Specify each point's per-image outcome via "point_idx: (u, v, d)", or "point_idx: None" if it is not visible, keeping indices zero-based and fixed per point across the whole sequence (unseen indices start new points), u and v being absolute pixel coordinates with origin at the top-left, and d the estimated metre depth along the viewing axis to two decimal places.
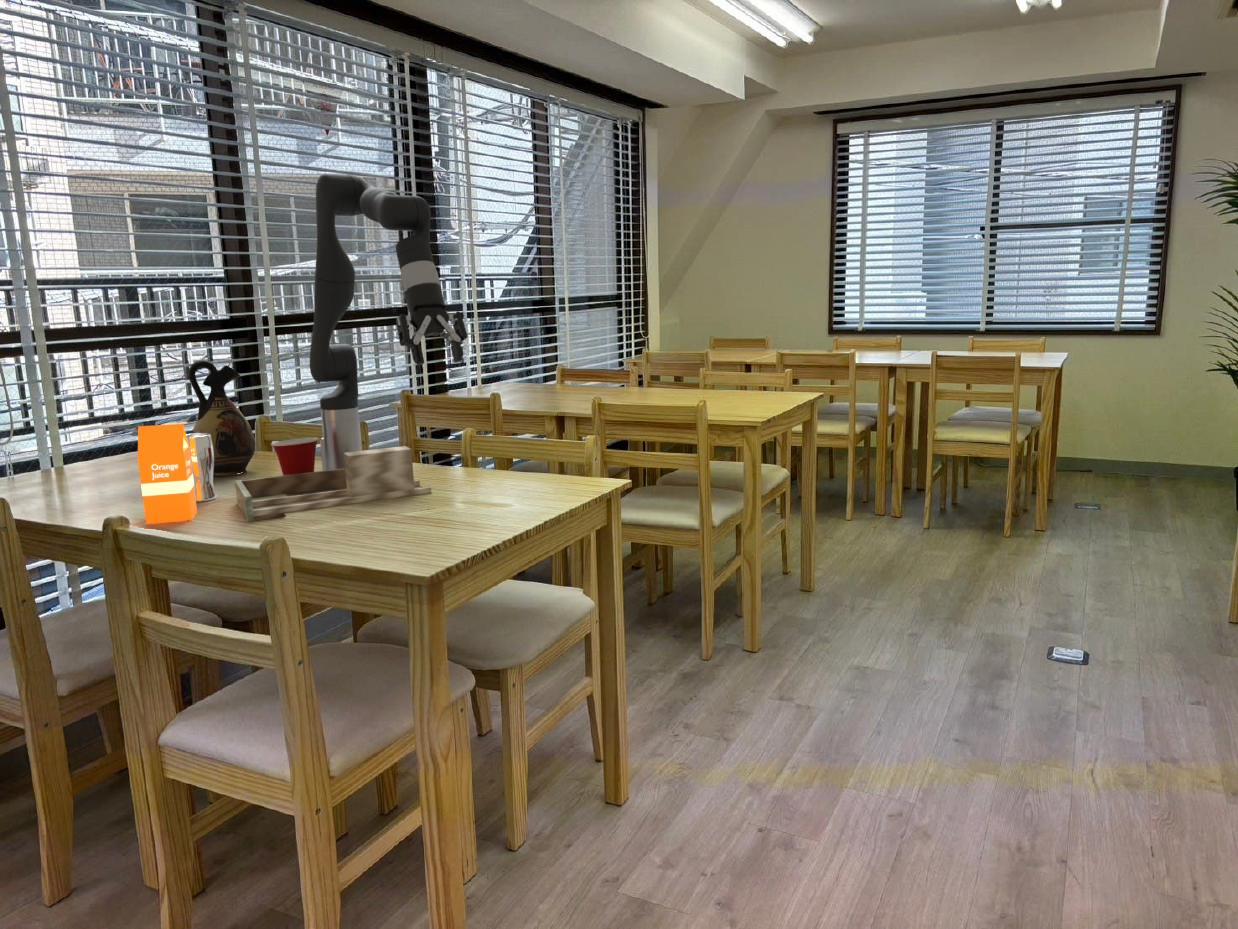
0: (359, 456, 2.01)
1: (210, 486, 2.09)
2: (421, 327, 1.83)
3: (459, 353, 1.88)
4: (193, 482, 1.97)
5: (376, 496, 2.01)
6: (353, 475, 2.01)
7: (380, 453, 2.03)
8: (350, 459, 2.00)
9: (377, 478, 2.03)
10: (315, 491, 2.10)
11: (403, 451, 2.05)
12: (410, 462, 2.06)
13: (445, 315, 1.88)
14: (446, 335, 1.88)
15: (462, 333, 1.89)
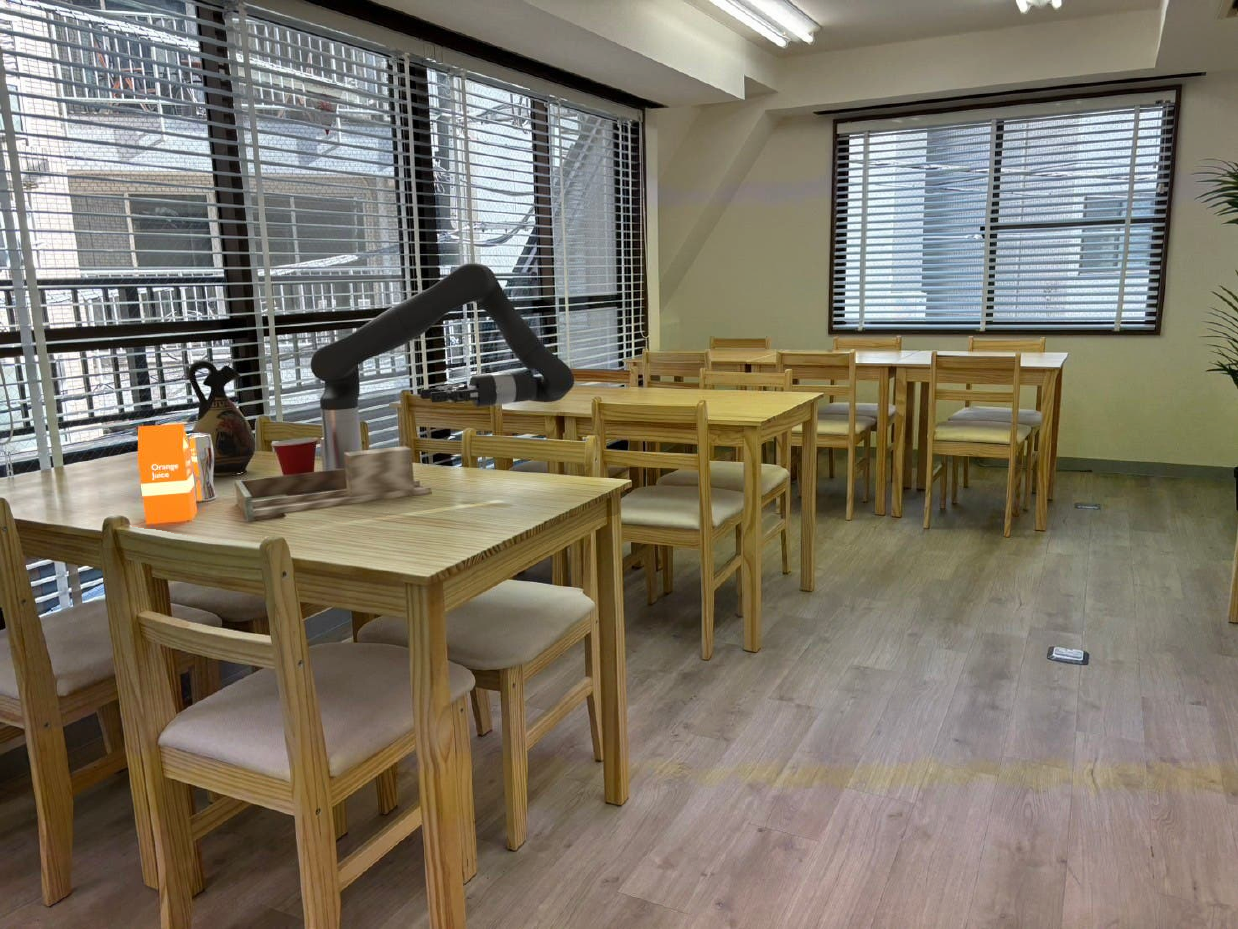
0: (359, 456, 2.01)
1: (210, 486, 2.09)
2: None
3: (426, 398, 2.12)
4: (193, 482, 1.97)
5: (376, 496, 2.01)
6: (353, 475, 2.01)
7: (380, 453, 2.03)
8: (350, 459, 2.00)
9: (377, 478, 2.03)
10: (315, 491, 2.10)
11: (403, 451, 2.05)
12: (410, 462, 2.06)
13: None
14: None
15: None
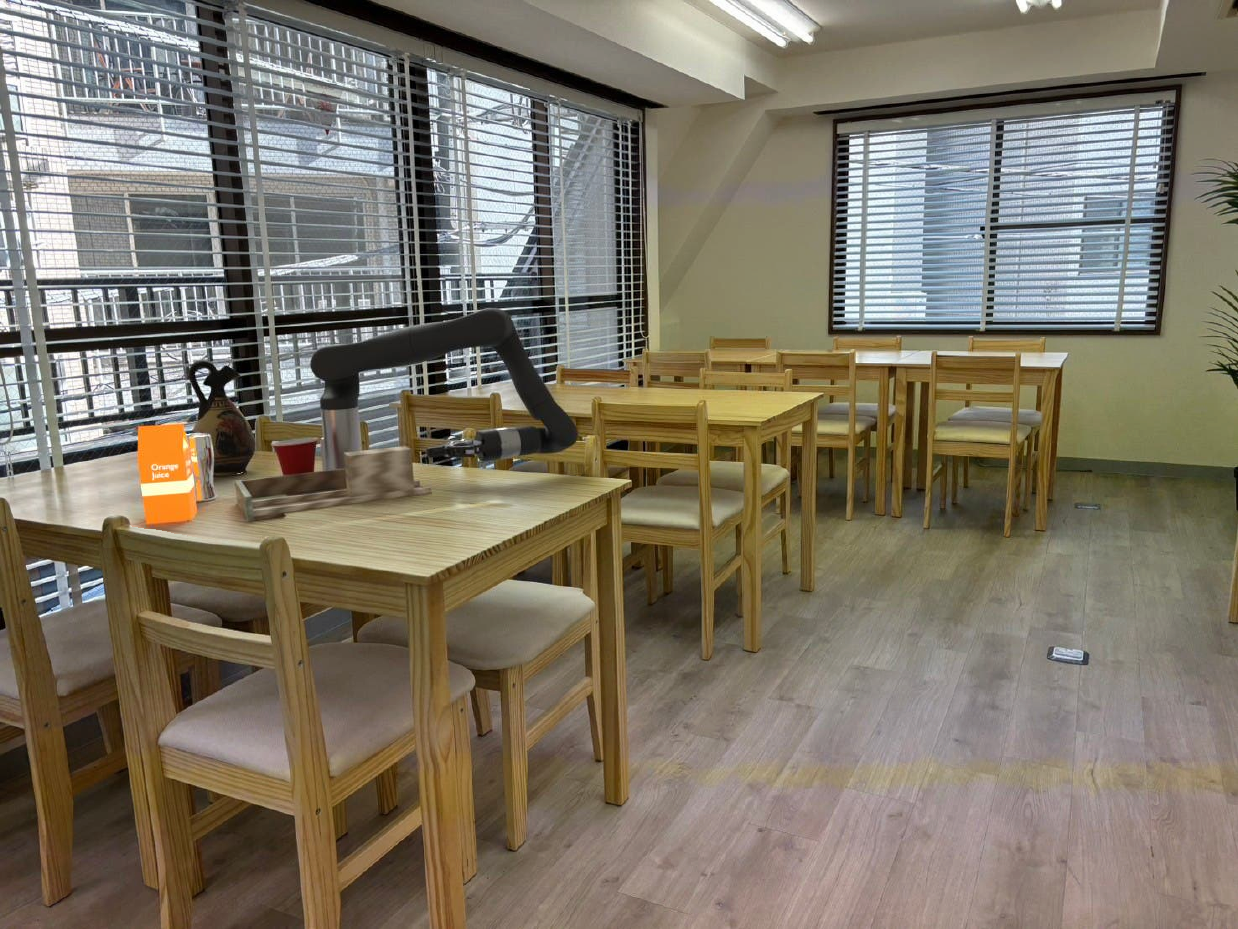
0: (359, 456, 2.01)
1: (210, 486, 2.09)
2: None
3: None
4: (193, 482, 1.96)
5: (376, 496, 2.01)
6: (353, 475, 2.01)
7: (380, 453, 2.03)
8: (350, 459, 2.00)
9: (377, 478, 2.03)
10: (315, 491, 2.10)
11: (403, 451, 2.05)
12: (410, 462, 2.06)
13: None
14: None
15: None
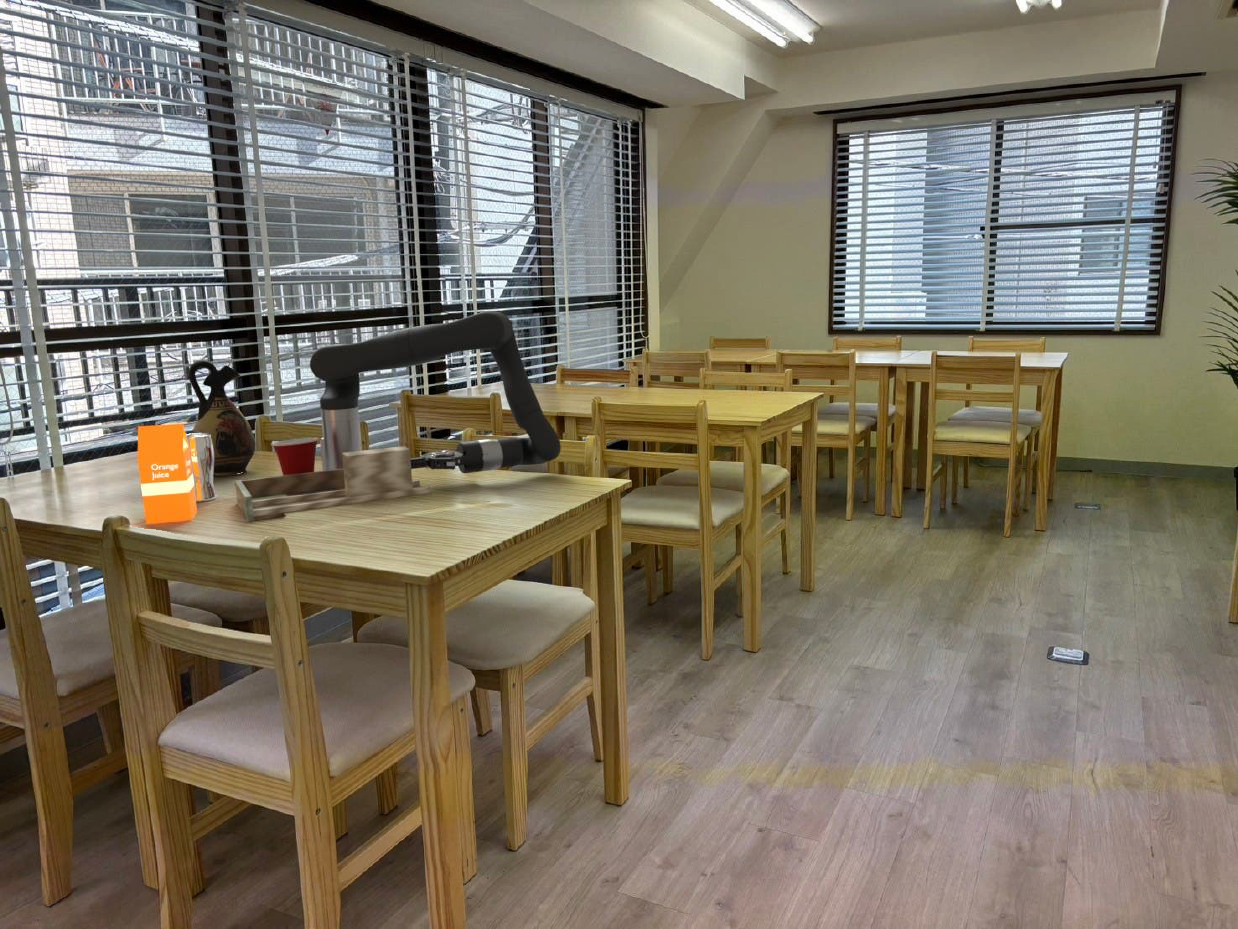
0: (358, 456, 2.00)
1: (210, 486, 2.09)
2: None
3: None
4: (193, 482, 1.97)
5: (376, 496, 2.01)
6: (351, 475, 2.00)
7: (378, 453, 2.03)
8: (348, 459, 2.00)
9: (375, 478, 2.03)
10: (315, 491, 2.10)
11: (401, 451, 2.05)
12: (408, 462, 2.06)
13: None
14: None
15: None
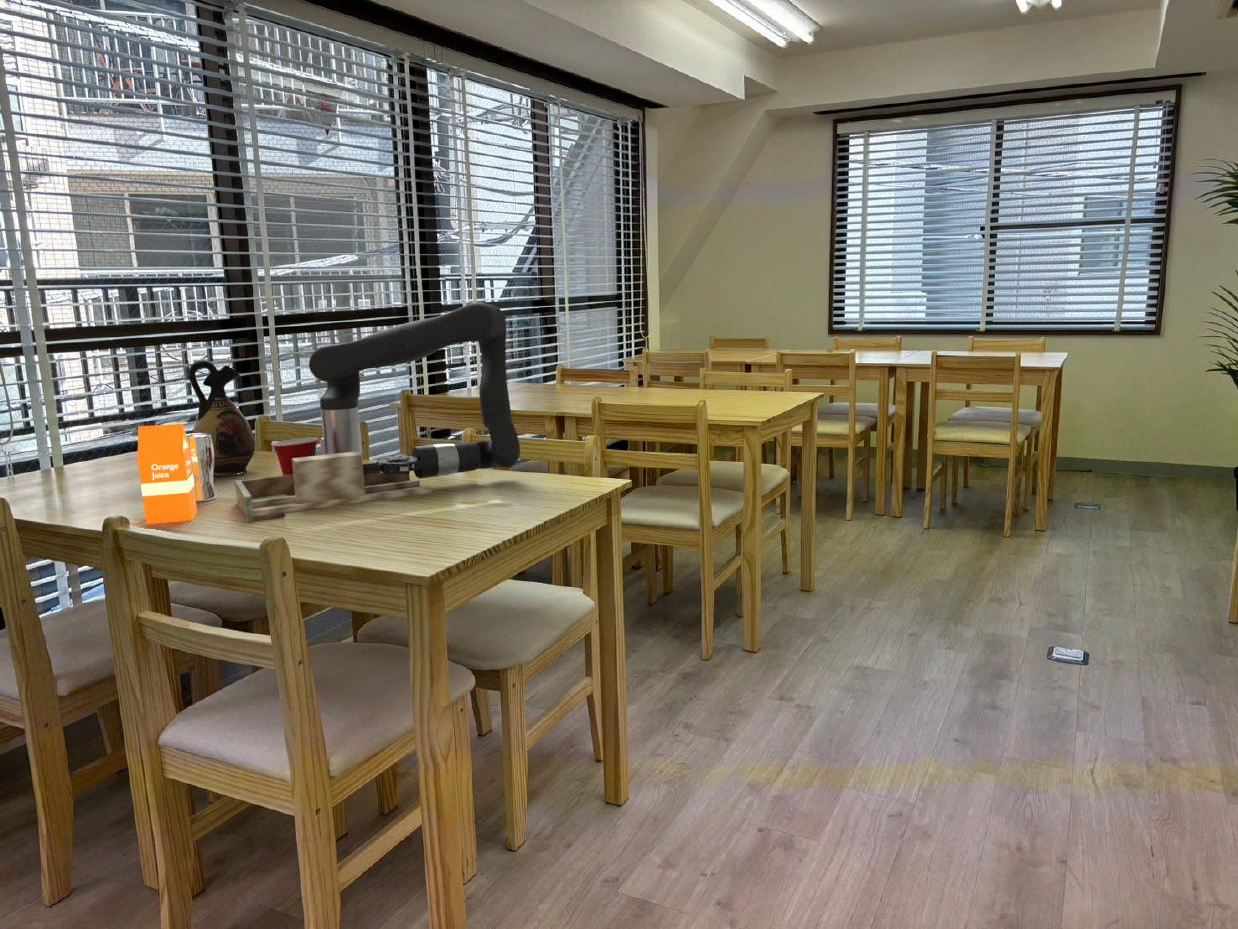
0: (307, 462, 1.95)
1: (210, 486, 2.09)
2: None
3: None
4: (193, 482, 1.97)
5: (376, 496, 2.01)
6: (300, 481, 1.95)
7: (329, 459, 1.97)
8: (297, 465, 1.94)
9: (326, 485, 1.98)
10: None
11: (353, 457, 2.00)
12: (360, 468, 2.01)
13: None
14: None
15: None
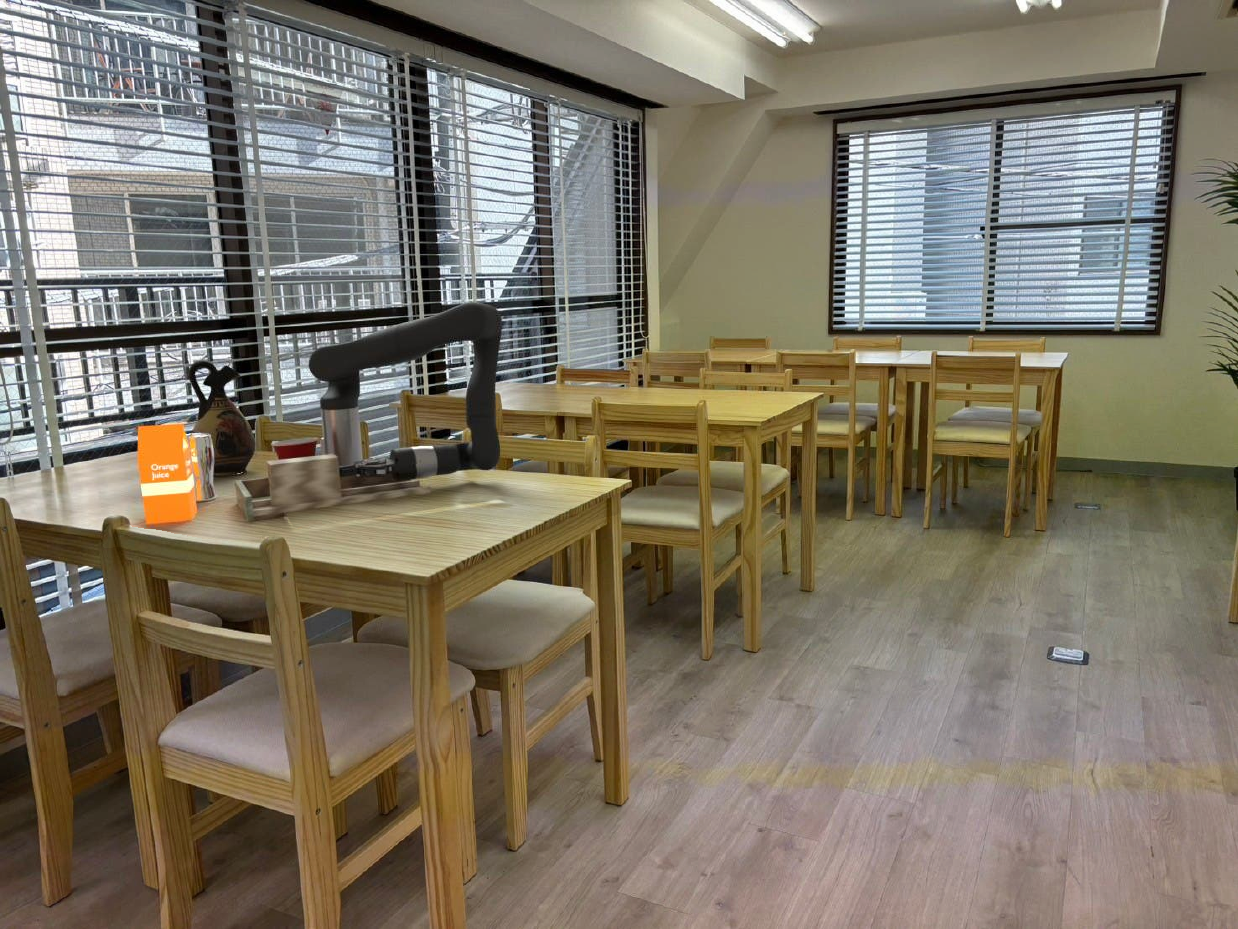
0: (282, 465, 1.93)
1: (210, 486, 2.09)
2: None
3: None
4: (193, 482, 1.97)
5: (376, 496, 2.01)
6: (275, 484, 1.93)
7: (304, 462, 1.95)
8: (272, 468, 1.92)
9: (301, 488, 1.96)
10: None
11: (329, 459, 1.97)
12: (337, 471, 1.99)
13: None
14: None
15: None
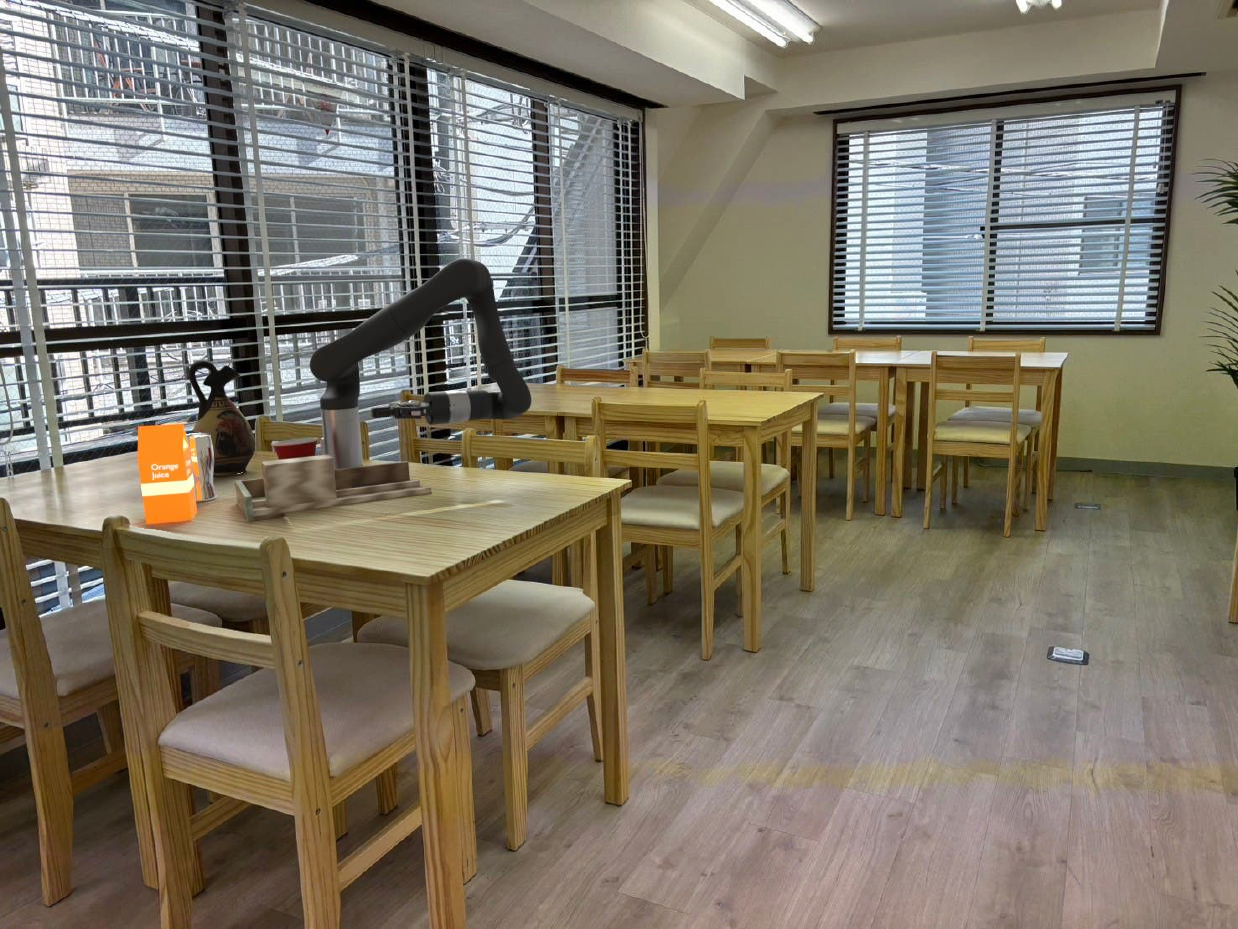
0: (277, 465, 1.92)
1: (210, 486, 2.09)
2: None
3: None
4: (193, 482, 1.97)
5: (376, 496, 2.01)
6: (270, 485, 1.92)
7: (299, 462, 1.95)
8: (267, 469, 1.91)
9: (296, 488, 1.95)
10: None
11: (324, 460, 1.97)
12: (332, 471, 1.98)
13: None
14: None
15: None
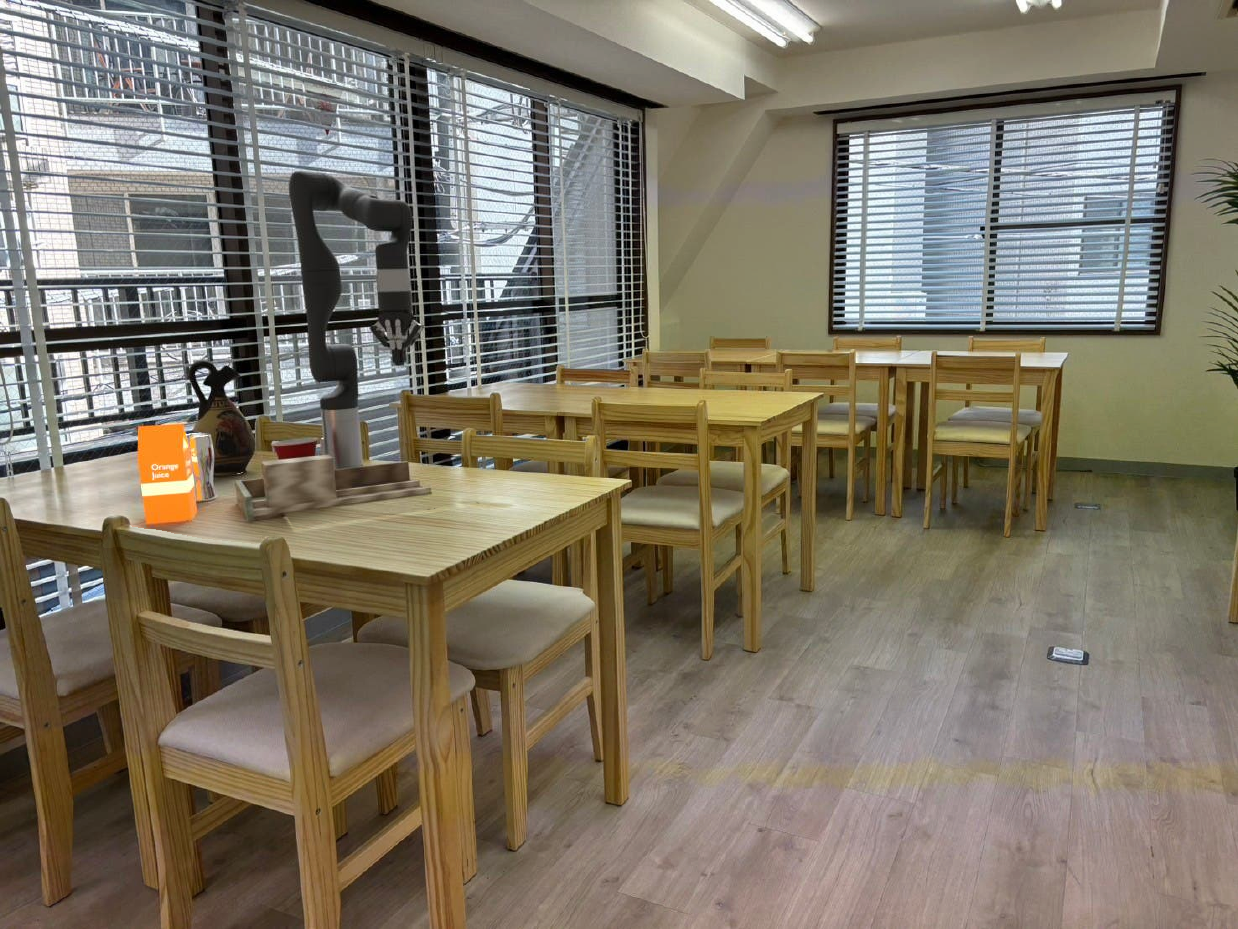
0: (277, 465, 1.92)
1: (210, 486, 2.09)
2: (388, 333, 2.09)
3: (398, 360, 2.10)
4: (193, 482, 1.97)
5: (376, 496, 2.01)
6: (270, 485, 1.92)
7: (299, 462, 1.95)
8: (267, 469, 1.91)
9: (296, 488, 1.95)
10: None
11: (324, 460, 1.97)
12: (332, 471, 1.98)
13: (407, 319, 2.08)
14: None
15: (406, 340, 2.09)
